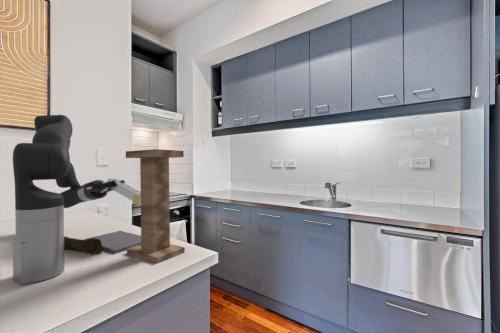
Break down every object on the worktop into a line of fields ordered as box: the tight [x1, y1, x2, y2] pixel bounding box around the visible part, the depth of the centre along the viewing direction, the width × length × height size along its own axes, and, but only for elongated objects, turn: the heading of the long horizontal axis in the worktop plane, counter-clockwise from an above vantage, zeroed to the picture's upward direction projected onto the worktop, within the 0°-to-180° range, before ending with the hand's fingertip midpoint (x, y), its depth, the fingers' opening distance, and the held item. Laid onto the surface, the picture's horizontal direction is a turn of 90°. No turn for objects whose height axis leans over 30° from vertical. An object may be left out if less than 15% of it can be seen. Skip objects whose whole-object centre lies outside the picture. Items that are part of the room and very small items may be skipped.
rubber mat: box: [82, 230, 141, 255], centre depth 88 cm, size 14×22×1 cm, turn 58°
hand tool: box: [64, 236, 103, 255], centre depth 79 cm, size 19×4×5 cm, turn 67°
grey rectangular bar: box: [106, 178, 141, 207], centre depth 89 cm, size 5×20×3 cm, turn 63°
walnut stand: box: [125, 148, 186, 264], centre depth 76 cm, size 10×15×32 cm, turn 58°
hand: (119, 183), depth 91 cm, fingers closed on grey rectangular bar, 3 cm apart
